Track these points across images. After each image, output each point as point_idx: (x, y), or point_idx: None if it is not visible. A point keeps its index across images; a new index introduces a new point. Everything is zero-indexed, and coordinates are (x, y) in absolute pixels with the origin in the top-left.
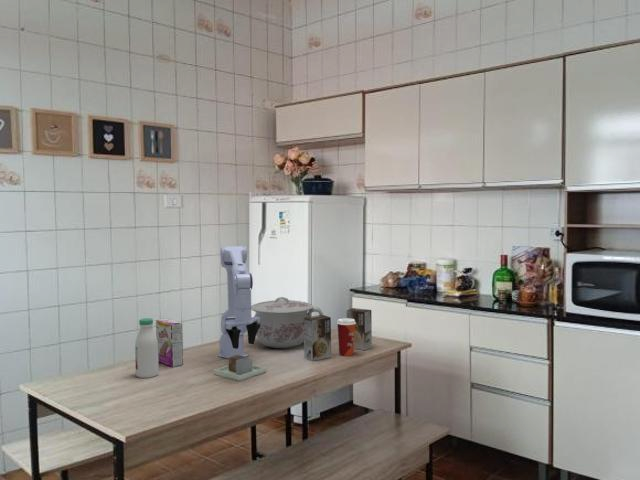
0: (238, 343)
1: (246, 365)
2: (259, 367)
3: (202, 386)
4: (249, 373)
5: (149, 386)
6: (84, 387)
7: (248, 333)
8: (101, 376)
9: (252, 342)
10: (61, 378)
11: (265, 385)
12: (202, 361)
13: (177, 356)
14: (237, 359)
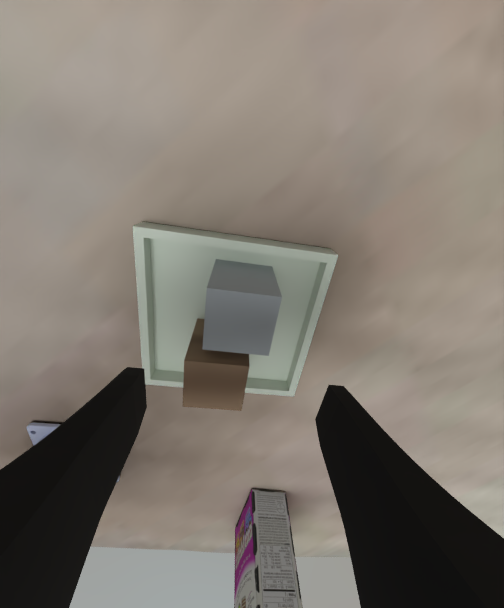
0: (356, 418)
1: (259, 283)
2: (145, 267)
3: (437, 329)
4: (264, 244)
5: (463, 439)
6: (489, 513)
7: (94, 522)
8: None
9: (136, 385)
10: None
11: (346, 50)
12: (191, 476)
13: (273, 525)
14: (240, 362)
